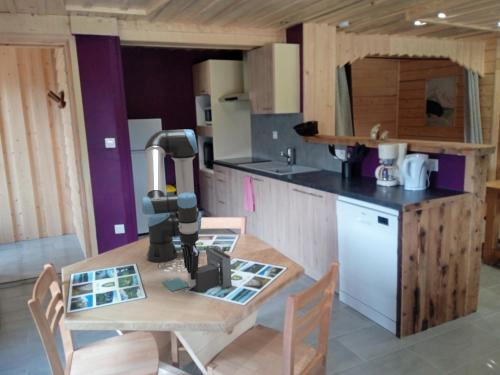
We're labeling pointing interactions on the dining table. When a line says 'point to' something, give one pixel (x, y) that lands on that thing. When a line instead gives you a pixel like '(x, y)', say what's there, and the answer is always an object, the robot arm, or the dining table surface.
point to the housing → (221, 265)
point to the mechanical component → (214, 247)
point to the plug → (207, 277)
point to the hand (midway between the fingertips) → (192, 285)
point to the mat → (175, 284)
